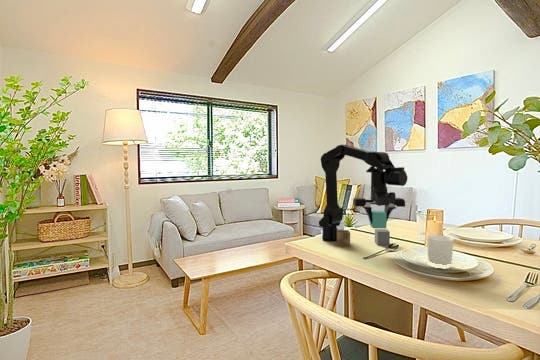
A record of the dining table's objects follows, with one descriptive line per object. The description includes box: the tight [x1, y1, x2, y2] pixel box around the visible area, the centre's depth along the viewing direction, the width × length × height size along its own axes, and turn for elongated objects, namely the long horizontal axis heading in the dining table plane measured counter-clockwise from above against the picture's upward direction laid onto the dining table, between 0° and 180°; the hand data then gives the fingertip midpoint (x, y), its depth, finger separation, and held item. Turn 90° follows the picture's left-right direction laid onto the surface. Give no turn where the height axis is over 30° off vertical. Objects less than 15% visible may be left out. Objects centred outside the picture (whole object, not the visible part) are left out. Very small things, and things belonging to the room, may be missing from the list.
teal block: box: [369, 210, 388, 229], centre depth 123 cm, size 5×5×6 cm
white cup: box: [426, 234, 455, 265], centre depth 107 cm, size 8×8×10 cm
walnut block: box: [336, 229, 351, 248], centre depth 134 cm, size 5×5×6 cm
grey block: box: [374, 228, 391, 246], centre depth 136 cm, size 5×5×6 cm
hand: (378, 223), depth 123 cm, fingers closed on teal block, 5 cm apart
